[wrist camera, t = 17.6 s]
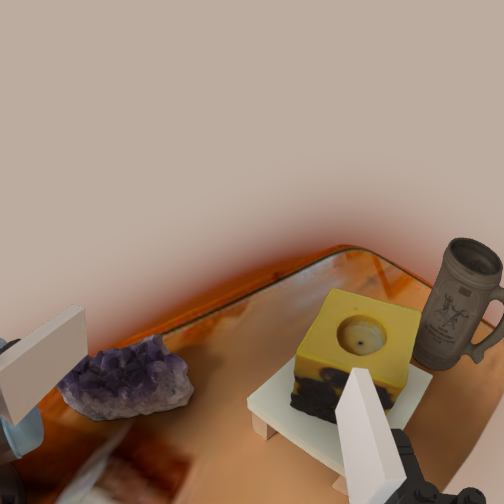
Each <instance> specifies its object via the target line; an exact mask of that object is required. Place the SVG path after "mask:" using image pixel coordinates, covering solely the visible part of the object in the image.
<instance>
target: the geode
mask: <svg viewBox="0 0 504 504" xmlns="http://www.w3.org/2000/svg"><path fill="white" fill-rule="evenodd" d="M188 369H189V367H188V365H187V364H186V362H185V361H184V360H183V359H182V358H181V357H179V356H177V355H175V354H172V353H169V349H168V348H167V345H166V344H164V343H163V342H162V335H160V334H156V335H152V336H149V337H147V338H145V339H143V340H142V342H141V343H136V344H132V345H130V346H129V347H127V348H121V349H118V348H114V349H113V348H111V349H109V350H105V351H99V352H98V354H97V355H95V356H94V357H92V358H91V357H90V356H89V355H86V356H85V357H84V358H83V359H82V360H81V361H80V362H79V363H78V364H77V365H76V366H75V367H74V368H73V369H72V370H71V371H70V372H69V373H67V374H66V375H65V376H64V377H63V378H62V379H61V380H60V381H59V382H58V383H57V384H56V386H57V388H58V390H59V392H60V393H62V395H63V398H64V401H65V402H66V403H67V404H69V405H70V407H72V408H73V409H74V410H75V411H76V412H78V413H80V414H82V415H84V416H86V417H87V418H89V419H91V420H93V421H102V420H112V419H118V418H124V417H125V418H129V417H133V416H139V415H140V414H144V415H149V414H151V413H153V412H155V411H157V412H160V411H166V410H170V409H174V408H176V407H179V406H185V405H187V404H188V402H189V399H190V398H191V397H192V395H193V393H194V390H195V389H194V387H193V386H192V384H191V383H190V380H189V378H188V376H187V371H188Z"/></svg>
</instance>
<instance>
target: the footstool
mask: <svg viewBox="0 0 504 504" xmlns="http://www.w3.org/2000/svg"><path fill="white" fill-rule="evenodd" d="M294 367H295V356H294V357H293V358H292V359H291V360H289V361H288V362H287V363H286V364H285V365H284V366H283V367H282V368H281V369H280V370H279V371H277V372H276V373H275V374H274V375H273V376H272V377H271V378H270V379H268V380H267V381H266V382H265V383H264V384H263V385H262V386H260V387H259V388H258V389H257V390H256V391H255V392H254V393H252V394H251V395H250V396H249V397H248V398H247V403H248V409H249V410H251V411H252V422H253V430H254V431H255V432H256V433H257V434H259V435H260V436H261V437H263V438H264V439H265V440H266V441H267V440H268V439H269V438H270V437H271V436H272V435H273V434H274V433H275V432H276V431H278V432H279V433H281V434H282V435H283V436H285V437H286V438H287V439H289V440H290V441H291V442H293V443H294V444H296V445H297V446H298V447H300V448H301V449H303V450H304V451H306V452H307V453H308V454H310V455H311V456H313V457H314V458H316V459H317V460H319V461H320V462H322V463H323V464H325V465H326V466H328V467H329V468H331V469H332V470H334V471H335V472H337V473H338V474H340V476H339V478H338V479H337V480H336V481H335V482H334V483H333V485H332V486H331V487H333V488H334V489H336V490H337V491H339V492H341V493H342V494H344V495H345V496H347V495H348V488H347V481H346V475H345V468H344V461H343V455H342V449H341V443H340V437H339V431H338V425H337V424H333V423H330V422H328V421H324V420H322V419H319V418H317V417H316V416H310V415H307V414H306V413H305V412H301V411H298V410H296V409H294V408H292V407H291V406H290V402H291V393H292V391H293V388H294V381H295V379H294V372H293V371H294ZM432 377H433V376H432V375H431V374H429V373H427V372H425V371H423V370H421V369H419V368H417V367H416V366H414V365H412V364H410V363H409V372H408V380H407V384H406V386H405V388H404V389H403V391H402V392H401V393H400V394H399V396H398V398H397V399H396V402H395V404H394V406H393V407H392V409H390V411H389V412H388V414H387V415H386V419H387V421H388V424H389V427H390V428H392V429H401V430H402V431H403V429H404V427H405V426H406V424H407V423H408V421H409V419H410V417H411V416H412V414H413V412H414V411H415V409H416V407H417V405H418V404H419V402H420V400H421V398H422V396H423V394H424V392H425V391H426V389H427V387H428V385H429V383H430V381H431V379H432Z"/></svg>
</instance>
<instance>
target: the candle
mask: <svg viewBox="0 0 504 504" xmlns="http://www.w3.org/2000/svg"><path fill="white" fill-rule="evenodd" d="M420 319H421V312H420V311H418V310H414V309H410V308H406V307H402V306H399V305H395V304H391V303H387V302H383V301H379V300H375V299H371V298H368V297H365V296H361V295H358V294H355V293H351V292H348V291H344V290H341V289H336V288H332V289H331V290H330V292H329V294H328V296H327V297H326V299H325V301H324V303H323V306H322V308H321V310H320V312H319V314H318V316H317V318H316V319H315V321H314V322H313V324H312V325H311V327H310V328H309V330H308V332H307V333H306V335H305V337H304V338H303V340H302V342H301V343H300V345H299V347H298V348H297V350H296V355H295V367H294V371H293V372H294V379H295V381H294V388H293V391H292V393H291V402H290V406H291V407H292V408H294V409H296V410H298V411H301V412H305V413H306V414H307V415H310V416H316V417H317V418H319V419H322V420H324V421H328V422H330V423H333V424H337V419H336V414H335V410H336V407H337V405H338V403H339V400H340V398H341V396H342V393H343V391H344V388H345V386H346V383H347V381H348V378H349V376H350V373H351V371H352V368H353V367H354V368H363V369H368V371H369V373H370V376H371V379H372V381H373V384H374V386H375V389H376V392H377V394H378V397H379V400H380V402H381V405H382V408H383V410H384V413H385V416H386V415H387V414H388V412H389V411H390V409H392V407H393V406H394V404H395V402H396V399H397V398H398V396H399V394H400V393H401V392H402V391H403V389H404V388H405V386H406V384H407V380H408V372H409V362H410V359H411V356H412V354H413V351H414V349H415V346H414V343H415V338H416V335H417V331H418V328H419V324H420Z"/></svg>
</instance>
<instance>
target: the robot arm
mask: <svg viewBox="0 0 504 504" xmlns="http://www.w3.org/2000/svg"><path fill="white" fill-rule="evenodd" d="M87 354H88V349H87V337H86V321H85V308H83V307H80V306H77V305H74V304H73V305H71V306H70V307H68V308H67V309H65V310H64V311H62V312H61V313H59V314H58V315H56V316H55V317H54V318H52V319H51V320H49V321H48V322H46V323H45V324H43V325H42V326H40V327H39V328H37V329H36V330H35V331H33V332H32V333H30V334H29V335H27V336H26V337H24V338H23V339H17V340H14V341H11V342H9V343H7V342H6V341H5V340H4V339H2V338H0V504H27V500H26V492H25V488H24V485H23V482H22V480H21V477H20V475H19V474H18V472H17V471H16V469H15V468H14V467H13V465H12V464H11V463H10V462H12V461H14V460H16V459H21V458H22V457H23V455H25V454H27V453H28V452H30V451H32V450H34V449H36V448H37V447H39V446H40V445H41V443H42V441H43V438H44V428H43V423H42V419H41V415H40V412H39V409H38V406H37V403H38V402H39V401H40V400H41V399H42V398H43V397H44V396H45V395H46V394H47V393H48V392H49V391H50V390H51V389H52V388H53V387H54V386H55V385H56V384H57V383H58V382H59V381H60V380H61V379H62V378H63V377H64V376H65V375H66V374H67V373H69V372H70V371H71V370H72V369H73V368H74V367H75V366H76V365H77V364H78V363H79V362H80V361H81V360H82V359H83V358H84V357H85V356H86V355H87ZM335 414H336V419H337V425H338V431H339V437H340V443H341V449H342V455H343V461H344V468H345V475H346V481H347V488H348V495H349V503H350V504H486V499H485V496H484V495H483V493H482V492H481V491H479V490H478V489H476V488H470V487H468V488H465V489H463V490H462V491H461V492H460V493H459V494H458V495H450V494H442V493H439V490H438V489H437V488H436V486H434V485H433V484H431V483H429V482H426V481H425V480H424V478H423V475H422V472H421V469H420V467H419V464H418V461H417V459H416V456H415V455H414V451H413V448H411V443H410V441H409V438H408V436H407V435H406V434H405V433H404V432H403V431H402V430H401V429H392V428H390V427H389V424H388V421H387V419H386V416H385V413H384V410H383V408H382V405H381V402H380V400H379V397H378V394H377V392H376V389H375V386H374V384H373V381H372V379H371V376H370V373H369V371H368V369H363V368H354V367H353V368H352V371H351V373H350V376H349V378H348V381H347V383H346V386H345V388H344V391H343V393H342V396H341V398H340V400H339V403H338V405H337V407H336V410H335Z"/></svg>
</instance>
